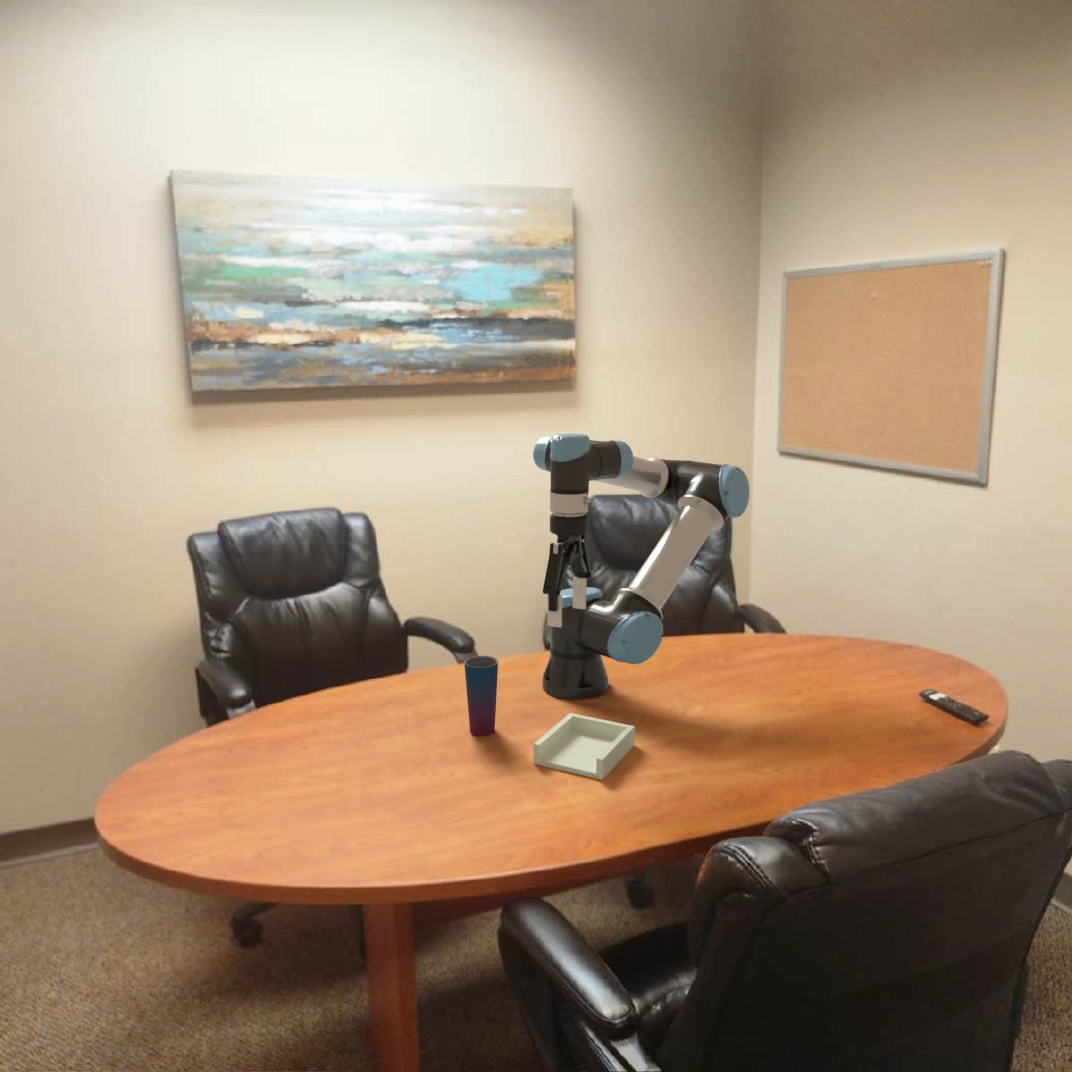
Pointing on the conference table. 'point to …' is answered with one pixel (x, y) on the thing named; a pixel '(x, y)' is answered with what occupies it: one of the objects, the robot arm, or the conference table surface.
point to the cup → (481, 693)
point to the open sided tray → (584, 745)
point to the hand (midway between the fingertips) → (567, 617)
